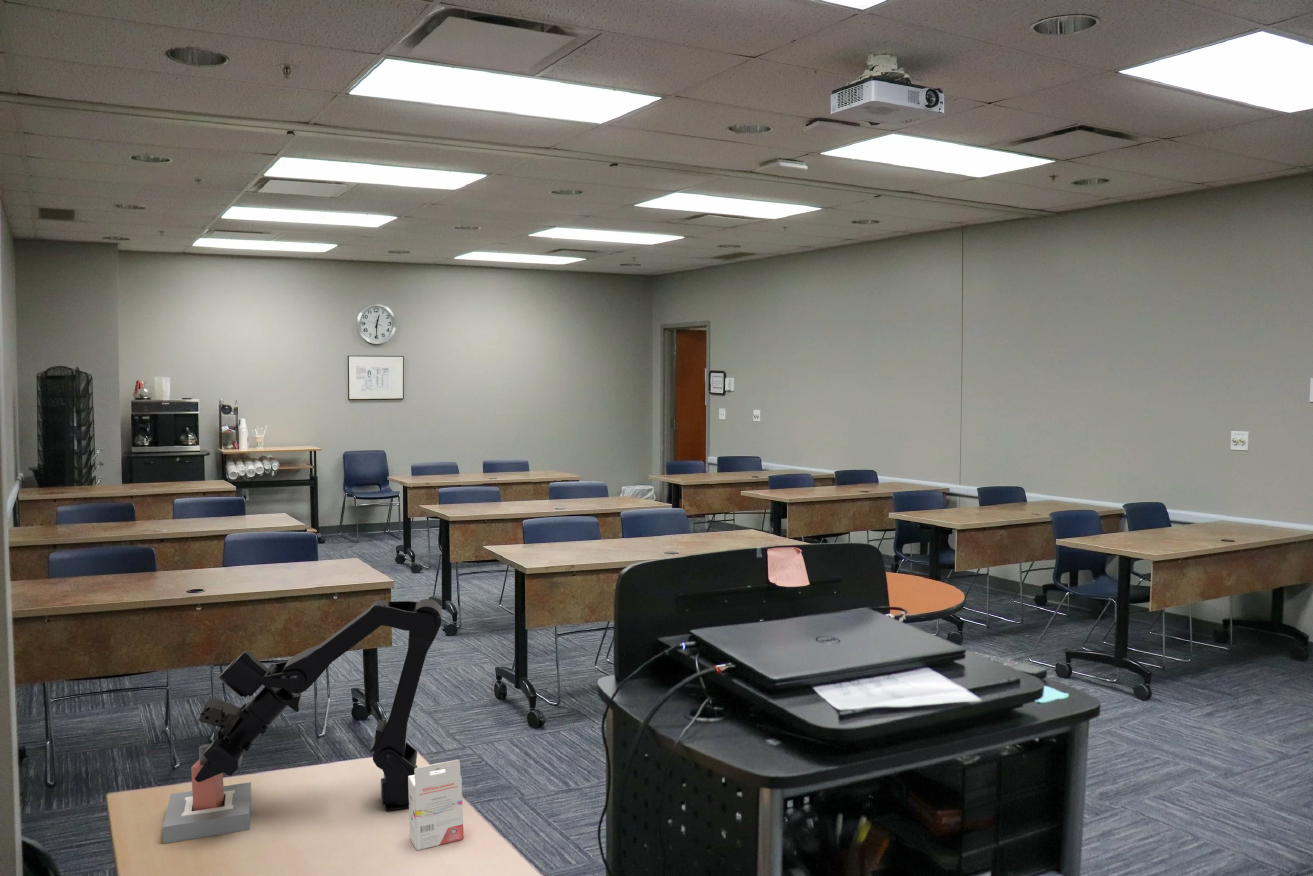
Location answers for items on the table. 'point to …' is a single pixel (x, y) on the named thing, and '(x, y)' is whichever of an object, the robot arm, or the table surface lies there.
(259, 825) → the table surface
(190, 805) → the socket plate
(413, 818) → the ink cartridge box
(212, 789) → the plug
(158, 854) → the table surface
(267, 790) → the table surface
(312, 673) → the robot arm
